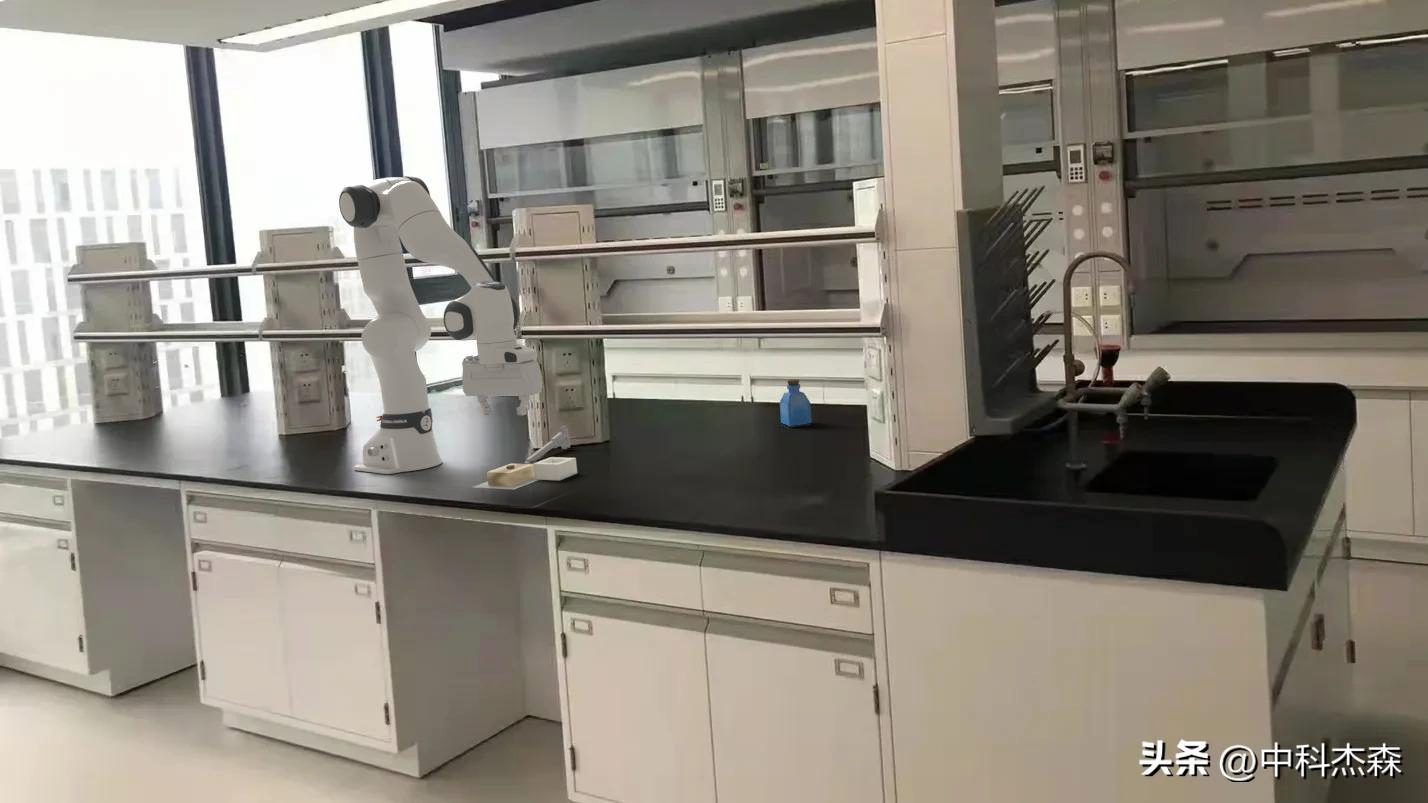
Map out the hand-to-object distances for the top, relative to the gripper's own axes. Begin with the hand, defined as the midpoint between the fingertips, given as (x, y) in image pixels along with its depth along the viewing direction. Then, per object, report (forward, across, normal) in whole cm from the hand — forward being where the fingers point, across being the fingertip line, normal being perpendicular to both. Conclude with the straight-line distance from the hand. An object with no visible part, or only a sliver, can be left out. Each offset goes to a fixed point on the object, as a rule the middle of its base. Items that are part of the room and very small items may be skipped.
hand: (505, 414), depth 270 cm
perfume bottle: (+17, +39, +72) cm, 83 cm away
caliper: (+16, -10, +28) cm, 34 cm away
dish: (+16, +8, +6) cm, 19 cm away
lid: (+15, 0, 0) cm, 15 cm away
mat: (+16, 0, 0) cm, 16 cm away
